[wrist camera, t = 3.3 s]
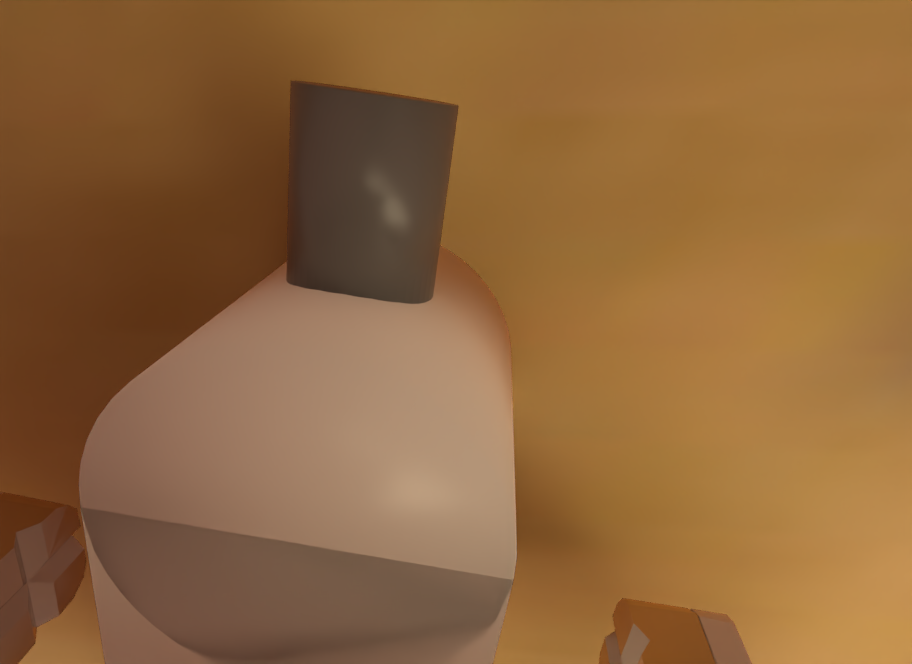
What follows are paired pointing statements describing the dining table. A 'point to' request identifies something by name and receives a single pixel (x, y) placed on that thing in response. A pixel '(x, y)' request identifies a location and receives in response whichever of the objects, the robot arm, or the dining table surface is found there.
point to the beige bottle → (321, 431)
